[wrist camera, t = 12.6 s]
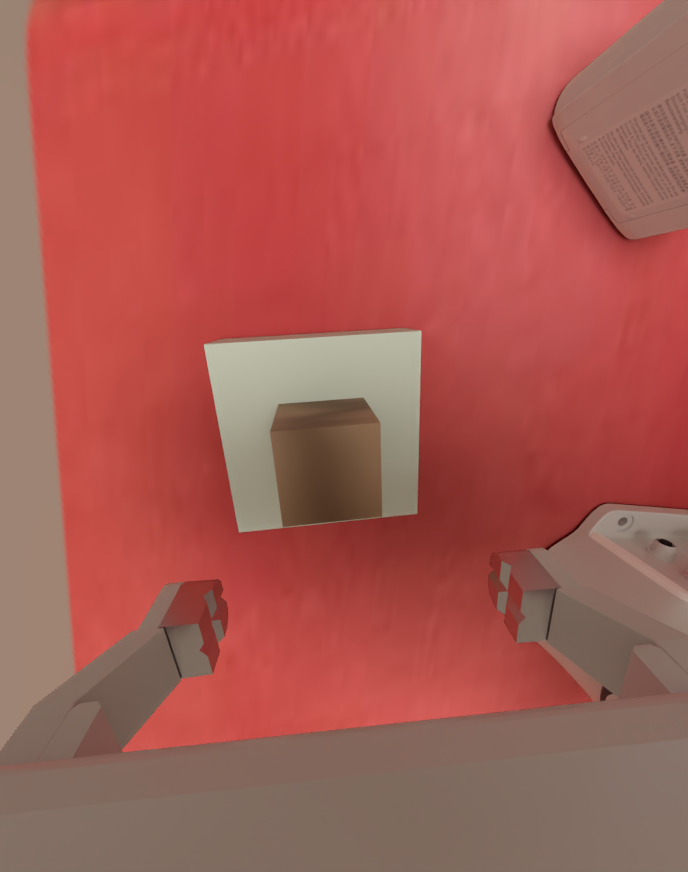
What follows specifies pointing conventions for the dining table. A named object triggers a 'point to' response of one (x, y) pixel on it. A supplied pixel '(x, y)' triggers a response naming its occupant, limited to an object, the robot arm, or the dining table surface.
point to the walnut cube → (327, 461)
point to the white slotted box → (634, 124)
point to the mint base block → (305, 382)
